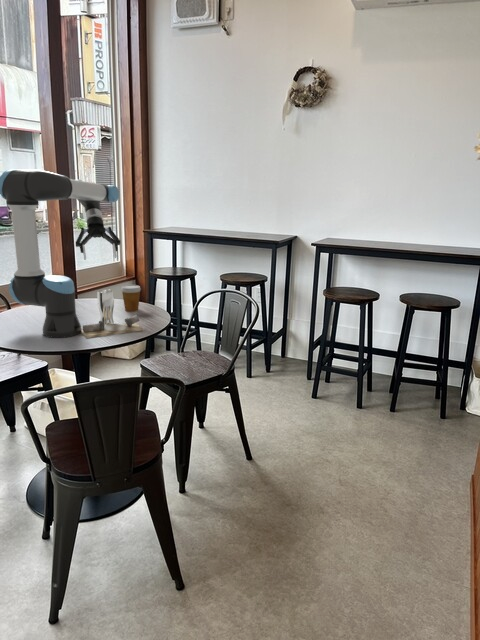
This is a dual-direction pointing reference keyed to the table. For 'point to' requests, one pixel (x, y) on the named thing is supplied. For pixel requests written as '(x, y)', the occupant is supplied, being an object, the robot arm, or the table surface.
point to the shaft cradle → (110, 328)
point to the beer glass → (106, 306)
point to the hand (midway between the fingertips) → (100, 257)
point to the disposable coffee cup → (131, 297)
